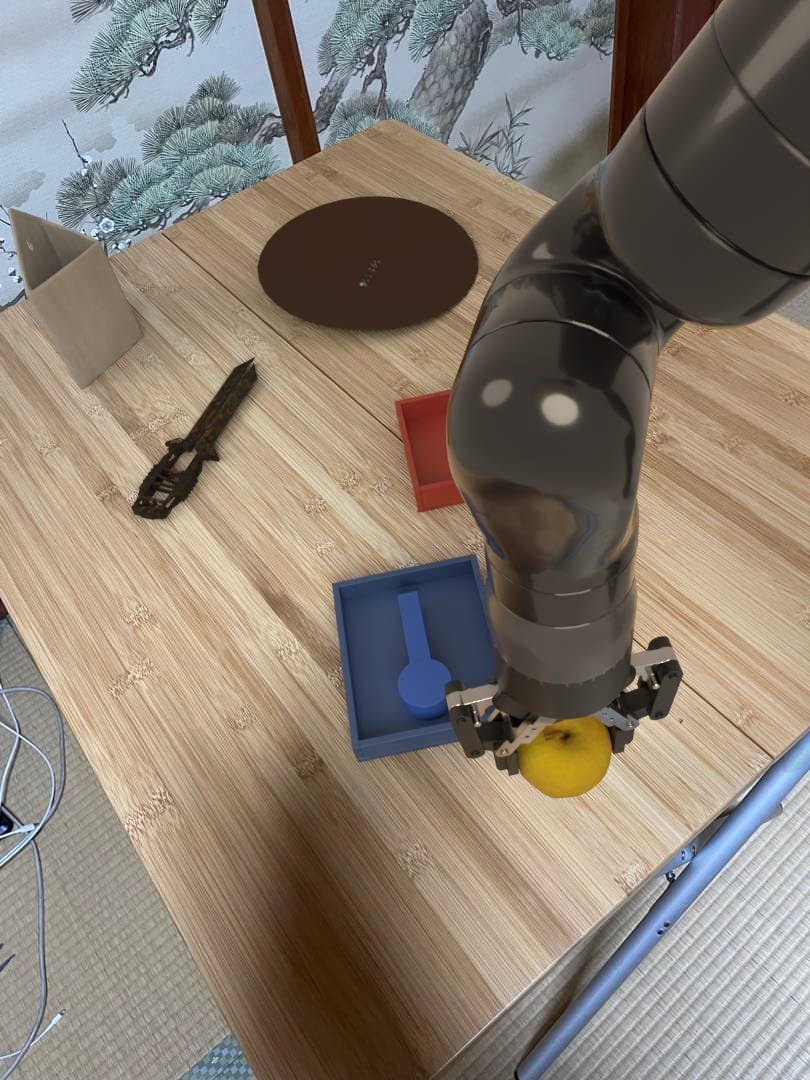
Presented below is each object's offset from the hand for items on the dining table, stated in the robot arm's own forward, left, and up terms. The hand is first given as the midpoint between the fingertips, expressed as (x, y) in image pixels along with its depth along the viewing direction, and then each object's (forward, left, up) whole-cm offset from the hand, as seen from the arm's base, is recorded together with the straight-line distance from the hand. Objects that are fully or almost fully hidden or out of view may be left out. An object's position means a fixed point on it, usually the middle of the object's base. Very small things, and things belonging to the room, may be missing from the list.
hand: (562, 750), depth 56 cm
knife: (+27, -48, -8) cm, 56 cm away
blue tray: (+8, -14, -8) cm, 18 cm away
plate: (+5, -72, -8) cm, 73 cm away
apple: (0, 0, -4) cm, 4 cm away
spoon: (+8, -14, -8) cm, 18 cm away
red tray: (-2, -37, -8) cm, 38 cm away
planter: (+39, -69, -8) cm, 80 cm away
